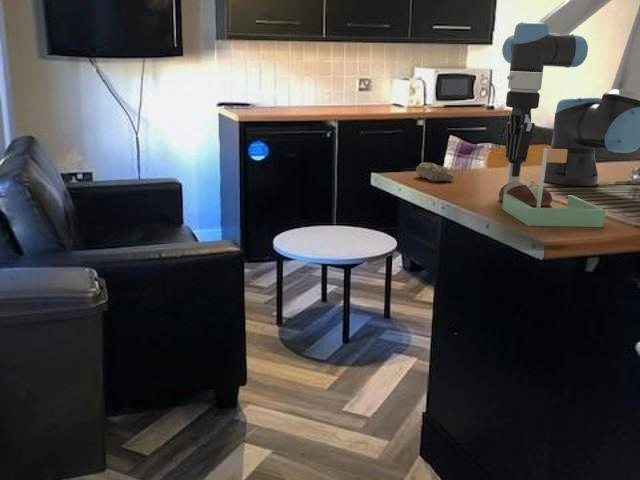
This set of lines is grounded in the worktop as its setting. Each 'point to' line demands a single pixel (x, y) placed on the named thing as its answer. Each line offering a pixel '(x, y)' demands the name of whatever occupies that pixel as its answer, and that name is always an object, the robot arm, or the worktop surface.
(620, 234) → the worktop surface
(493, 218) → the worktop surface
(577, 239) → the worktop surface
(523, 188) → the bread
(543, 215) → the mint green tray
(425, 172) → the rock
